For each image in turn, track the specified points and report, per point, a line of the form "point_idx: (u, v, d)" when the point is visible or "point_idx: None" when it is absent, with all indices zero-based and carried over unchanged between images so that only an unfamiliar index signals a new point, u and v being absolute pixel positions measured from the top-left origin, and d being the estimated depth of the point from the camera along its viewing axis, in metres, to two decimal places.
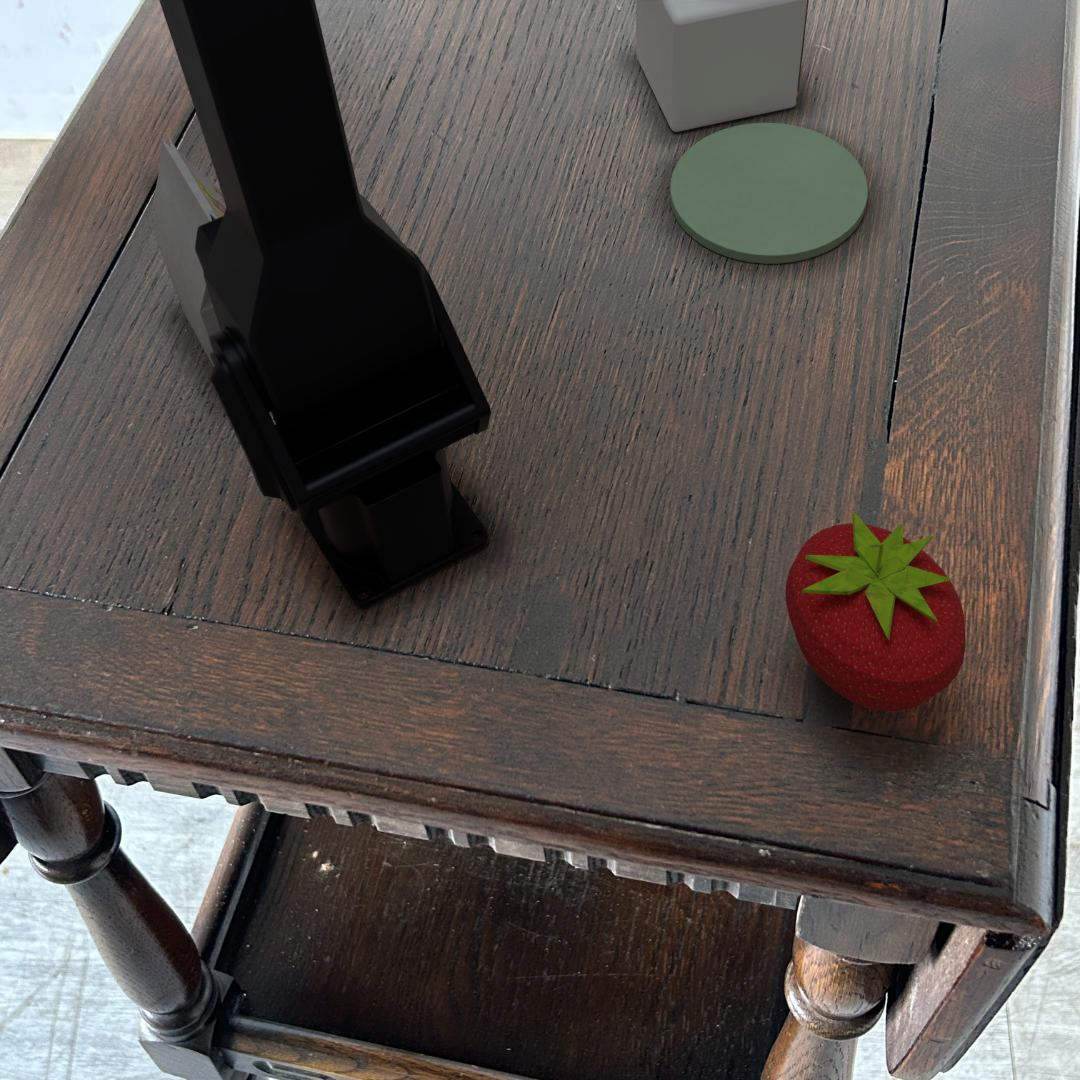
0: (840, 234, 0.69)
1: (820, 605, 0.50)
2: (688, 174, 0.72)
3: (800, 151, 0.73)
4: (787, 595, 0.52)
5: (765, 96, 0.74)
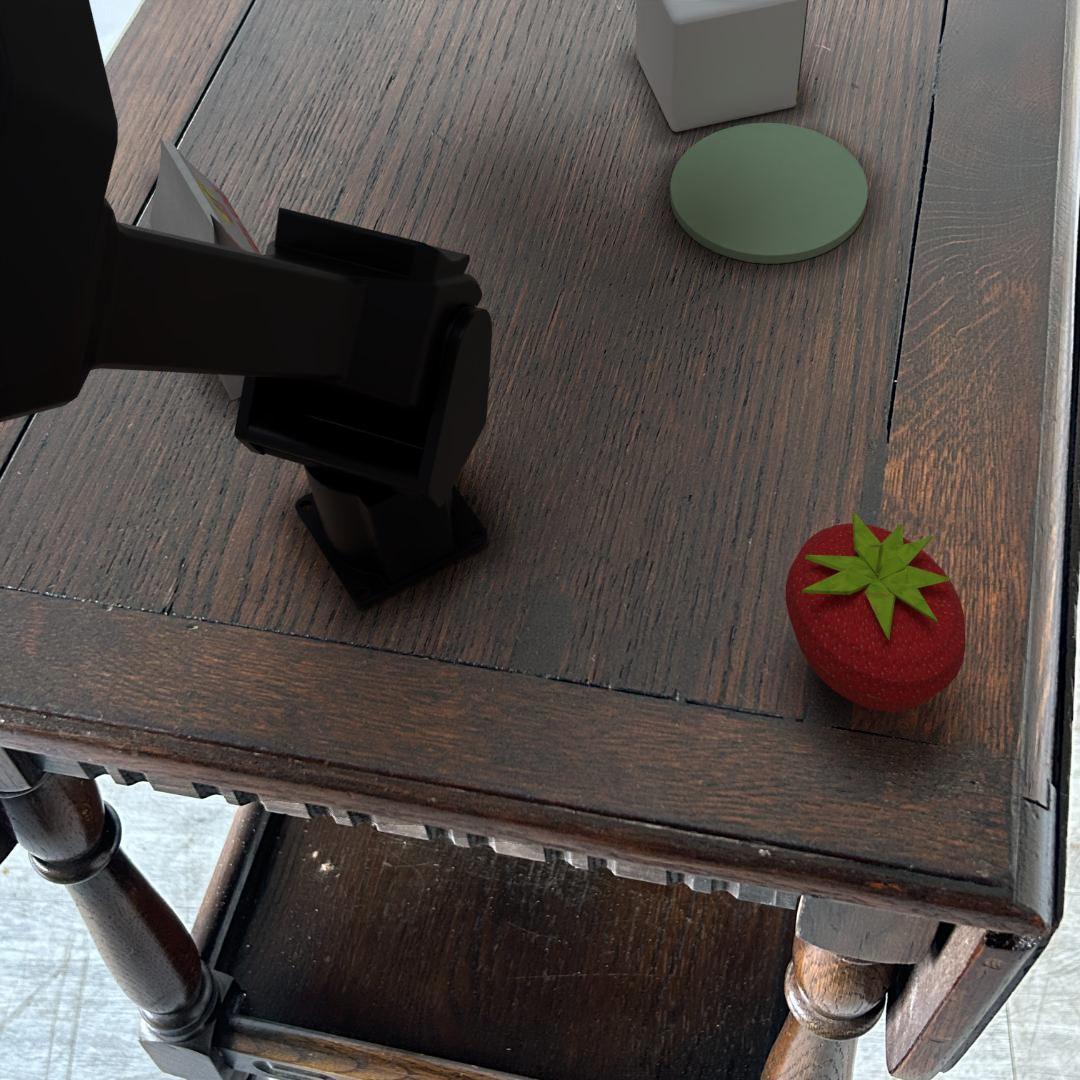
0: (840, 234, 0.69)
1: (820, 605, 0.50)
2: (688, 174, 0.72)
3: (800, 151, 0.73)
4: (787, 595, 0.52)
5: (765, 96, 0.74)
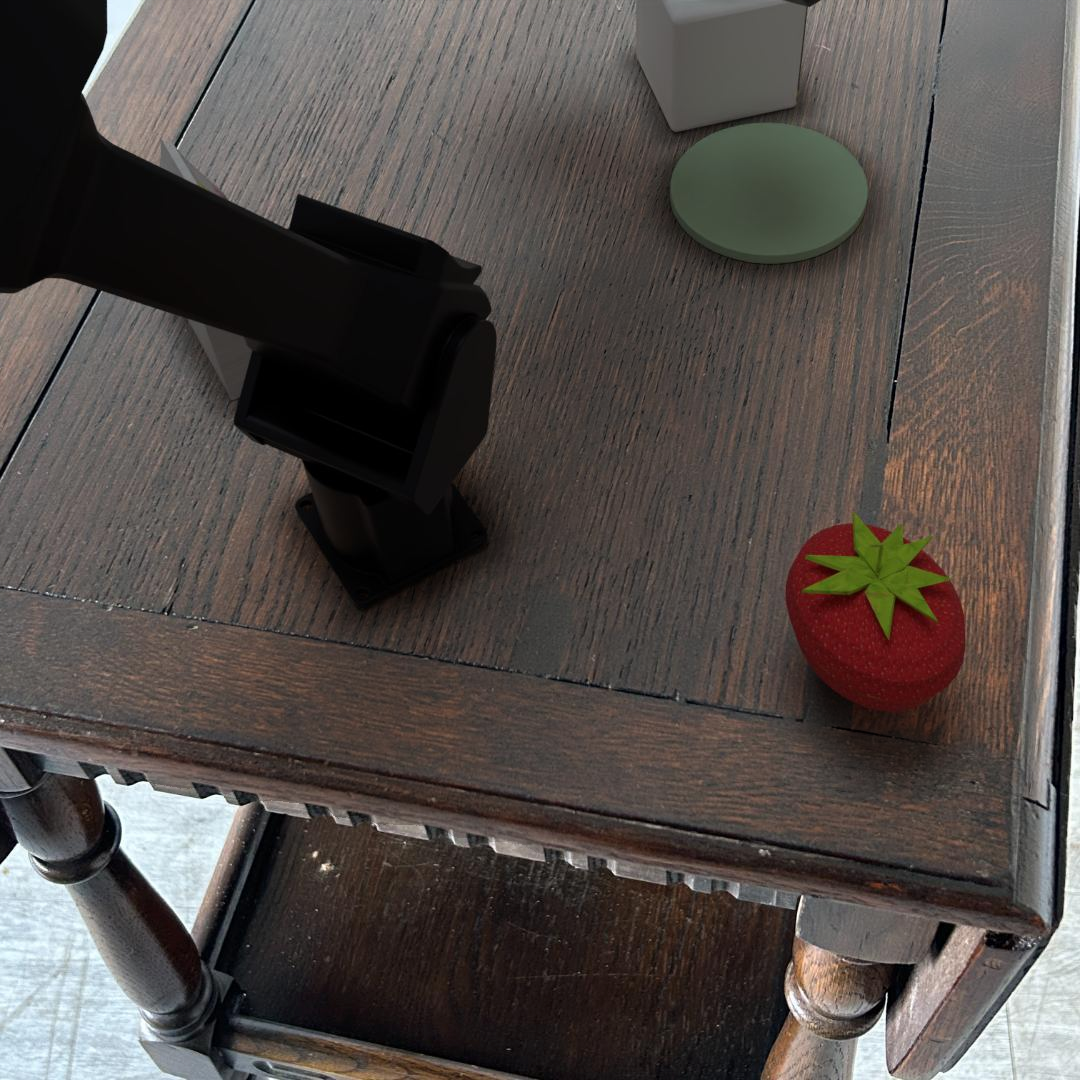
0: (840, 234, 0.69)
1: (820, 605, 0.50)
2: (688, 174, 0.72)
3: (800, 151, 0.73)
4: (787, 595, 0.52)
5: (765, 96, 0.74)
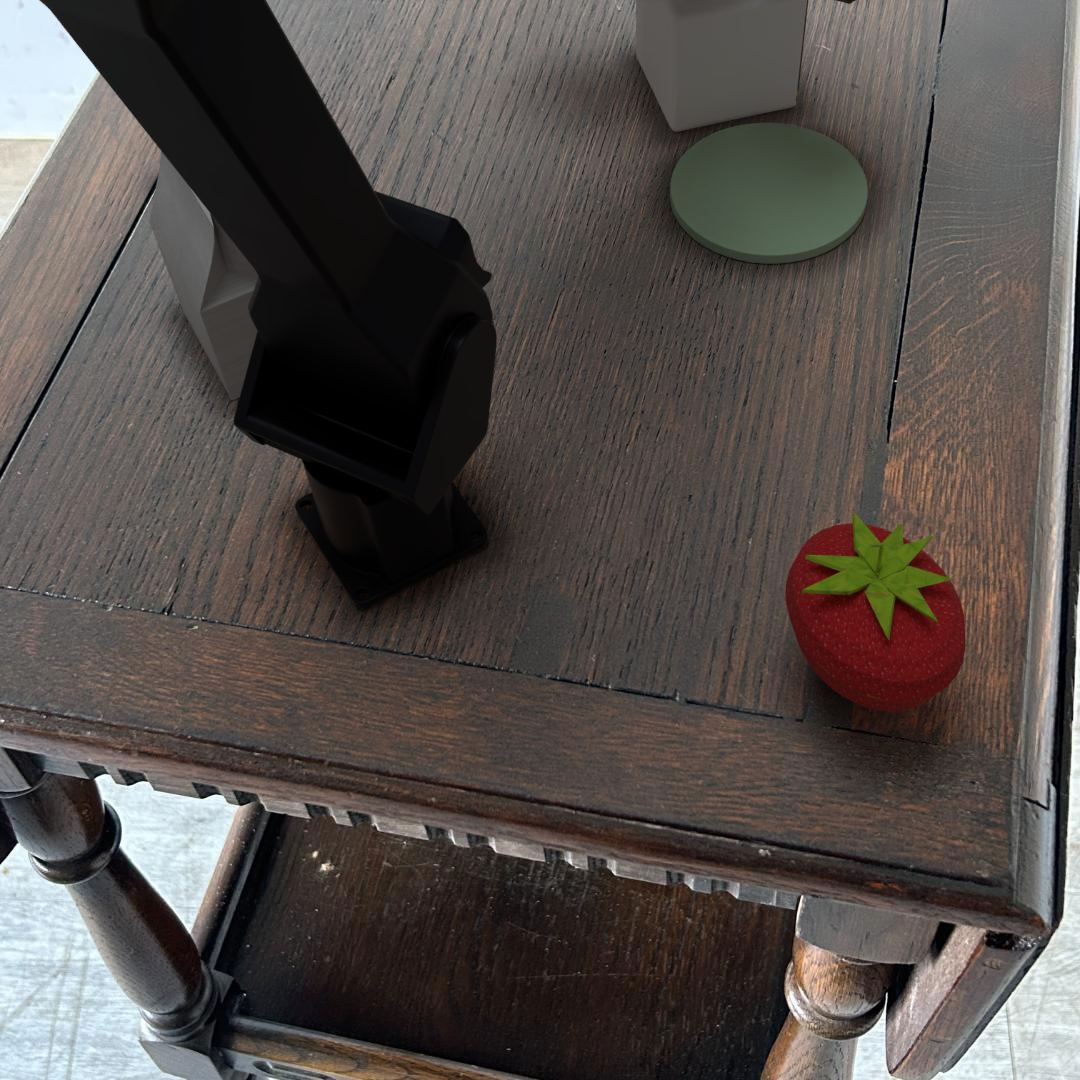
0: (840, 234, 0.69)
1: (820, 605, 0.50)
2: (688, 174, 0.72)
3: (800, 151, 0.73)
4: (787, 595, 0.52)
5: (765, 96, 0.74)
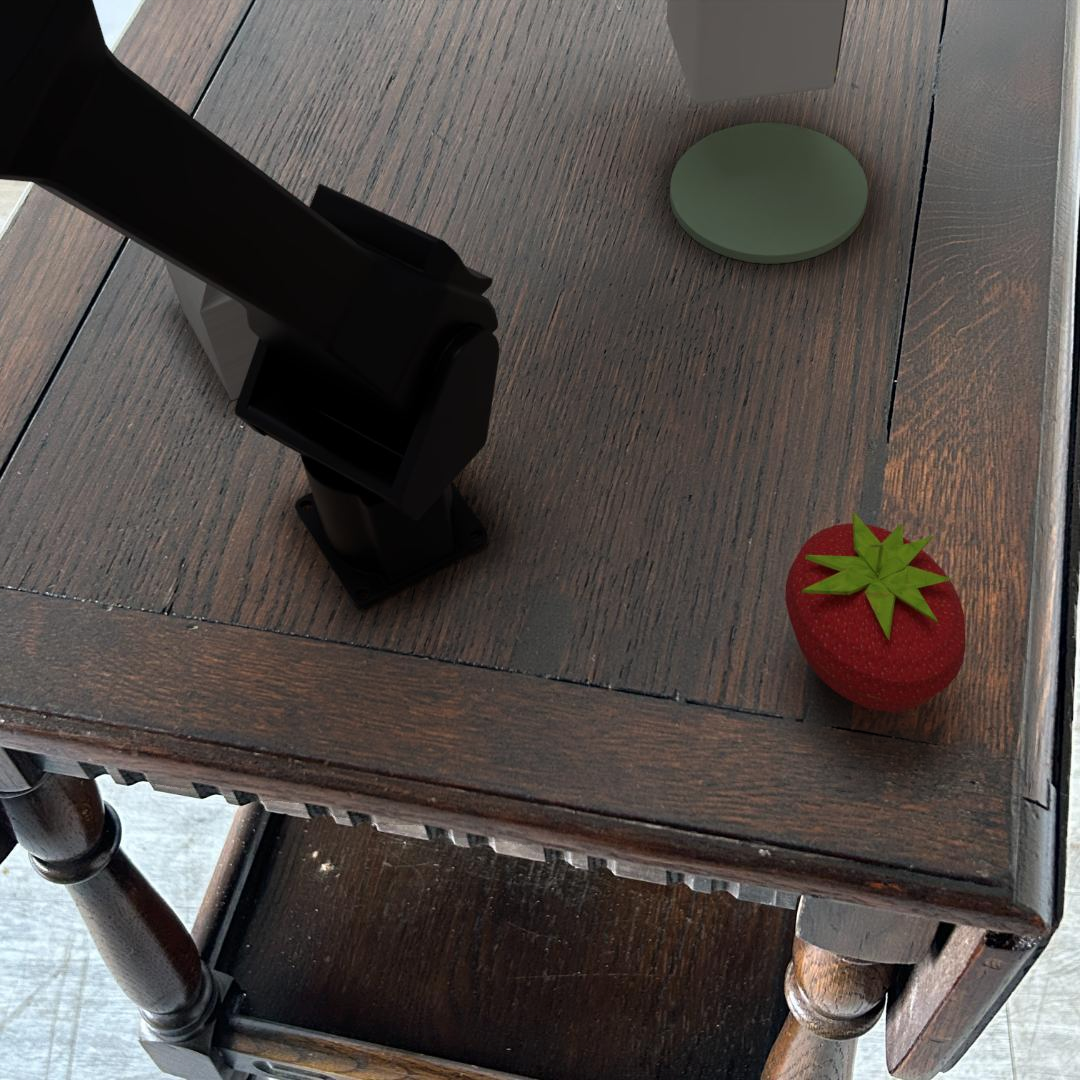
0: (840, 234, 0.69)
1: (820, 605, 0.50)
2: (688, 174, 0.72)
3: (800, 151, 0.73)
4: (787, 595, 0.52)
5: (799, 73, 0.67)
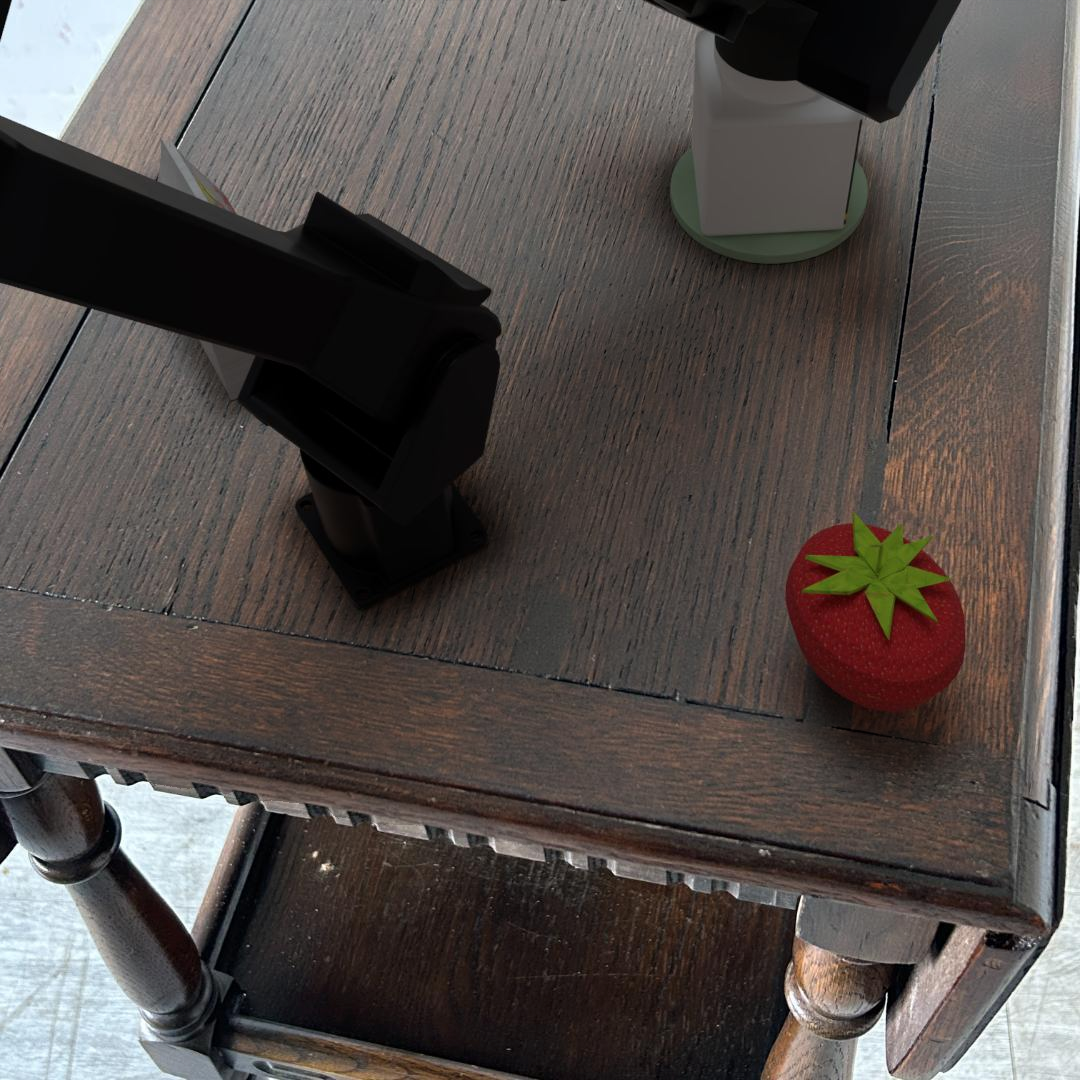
0: (840, 234, 0.69)
1: (820, 605, 0.50)
2: (688, 174, 0.72)
3: None
4: (787, 595, 0.52)
5: (808, 214, 0.68)
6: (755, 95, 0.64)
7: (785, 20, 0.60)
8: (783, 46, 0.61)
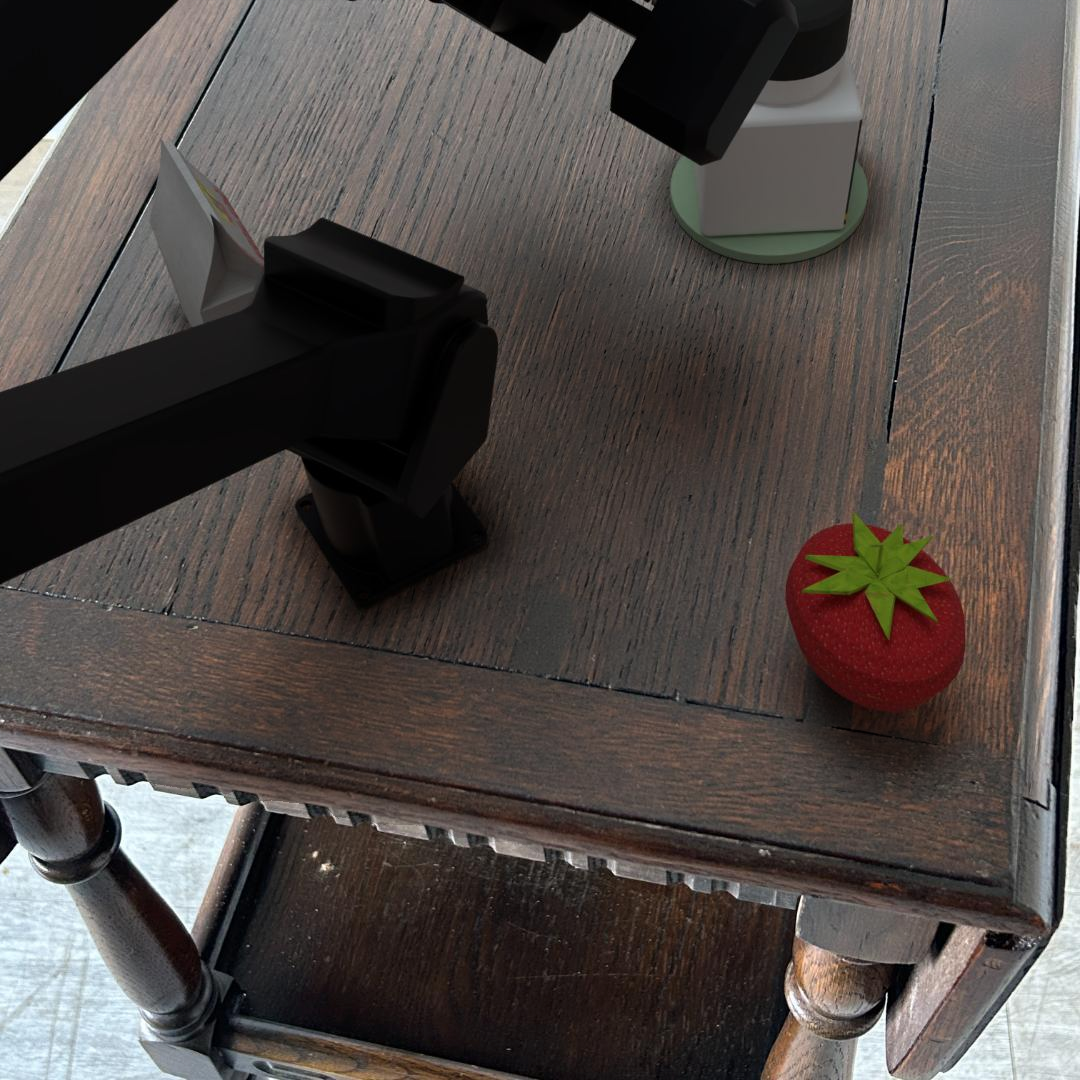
0: (840, 234, 0.69)
1: (820, 605, 0.50)
2: (688, 174, 0.72)
3: None
4: (787, 595, 0.52)
5: (808, 214, 0.68)
6: None
7: None
8: None
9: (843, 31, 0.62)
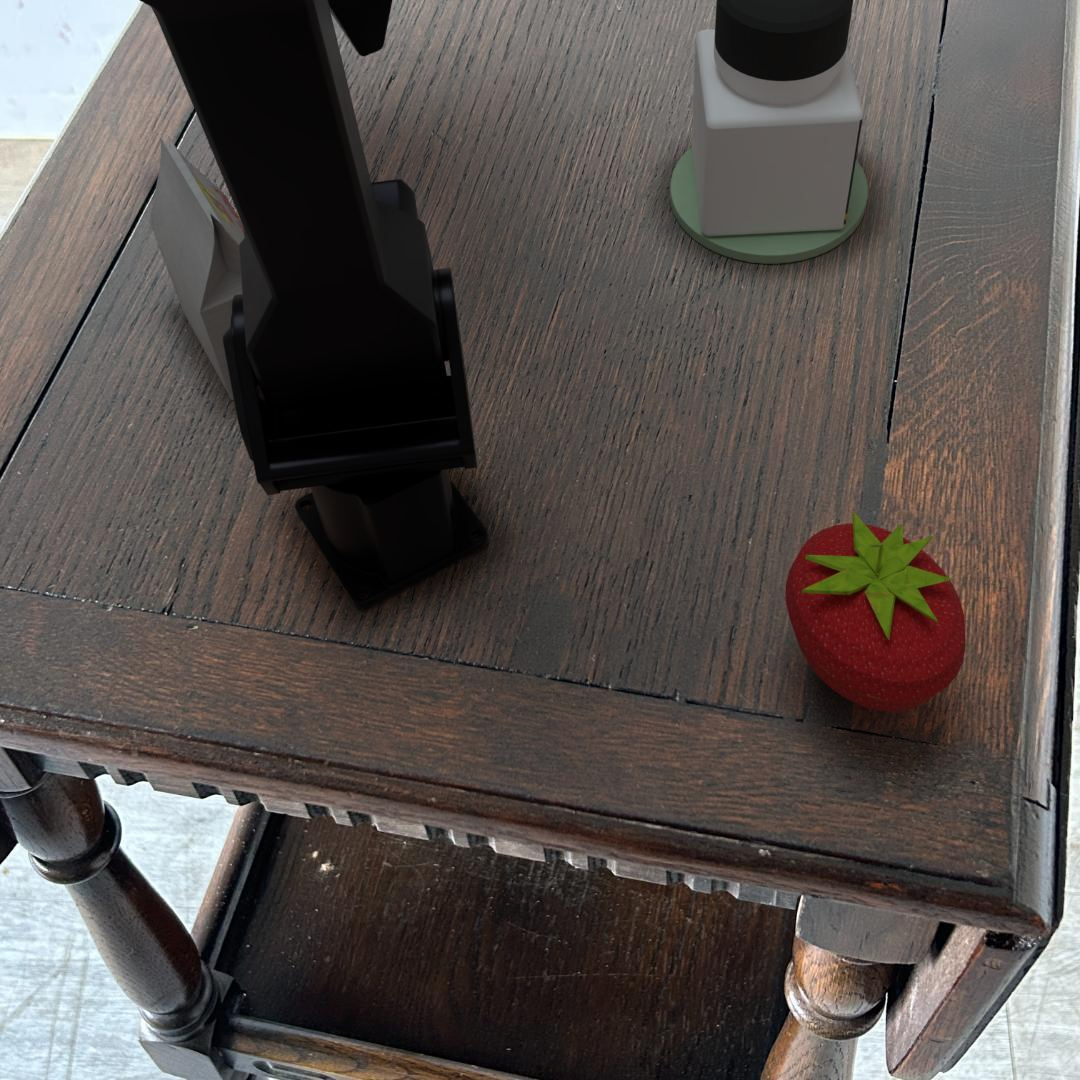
0: (840, 234, 0.69)
1: (820, 605, 0.50)
2: (688, 174, 0.72)
3: None
4: (787, 595, 0.52)
5: (808, 214, 0.68)
6: (755, 95, 0.64)
7: (785, 20, 0.60)
8: (783, 46, 0.61)
9: (843, 31, 0.62)
